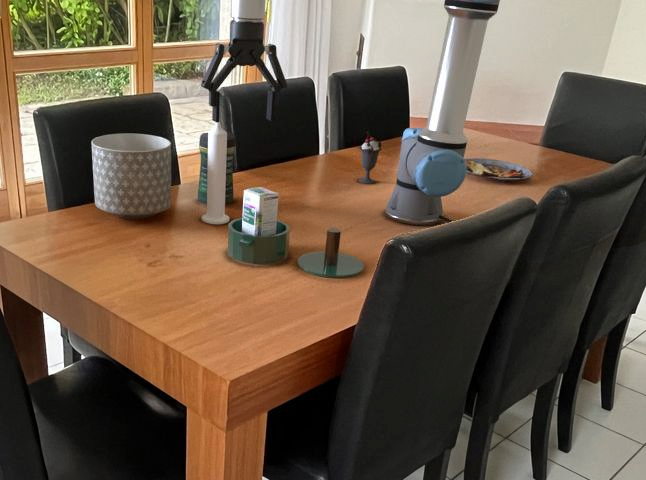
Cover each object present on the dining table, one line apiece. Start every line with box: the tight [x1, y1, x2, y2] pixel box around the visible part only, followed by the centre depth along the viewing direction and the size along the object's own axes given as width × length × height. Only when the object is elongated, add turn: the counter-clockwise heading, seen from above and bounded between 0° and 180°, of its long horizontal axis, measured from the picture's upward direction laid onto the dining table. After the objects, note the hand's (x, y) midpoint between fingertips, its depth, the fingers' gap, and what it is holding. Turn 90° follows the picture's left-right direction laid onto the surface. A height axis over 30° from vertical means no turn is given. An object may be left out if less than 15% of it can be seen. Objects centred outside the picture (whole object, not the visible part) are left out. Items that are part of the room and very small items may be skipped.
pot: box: [227, 217, 291, 265], centre depth 167 cm, size 14×19×7 cm
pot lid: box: [296, 227, 365, 279], centre depth 162 cm, size 15×15×9 cm
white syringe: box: [201, 120, 231, 225], centre depth 183 cm, size 7×7×25 cm
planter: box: [91, 133, 172, 221], centre depth 185 cm, size 19×19×18 cm
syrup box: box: [242, 186, 280, 236], centre depth 165 cm, size 6×6×14 cm
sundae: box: [358, 131, 382, 185], centre depth 226 cm, size 7×7×15 cm
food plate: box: [463, 157, 534, 182], centre depth 244 cm, size 25×23×4 cm
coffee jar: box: [197, 130, 237, 205], centre depth 199 cm, size 10×8×19 cm
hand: (243, 120), depth 174 cm, fingers open, 13 cm apart
